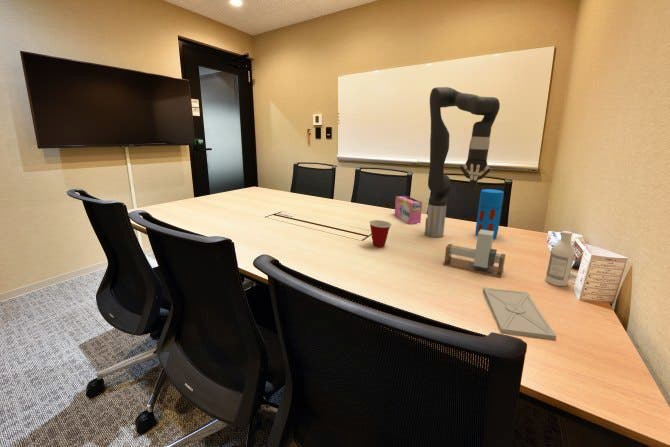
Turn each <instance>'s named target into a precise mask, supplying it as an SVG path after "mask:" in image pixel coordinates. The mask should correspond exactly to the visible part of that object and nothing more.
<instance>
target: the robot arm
mask: <svg viewBox="0 0 670 447" xmlns="http://www.w3.org/2000/svg"><path fill="white" fill-rule="evenodd" d="M499 100H500V99H498V98H497V97H493V96H480V95H477V94H473V93H464V92H461V91H459V90H456V89H455V88H453V87H449V86H448V87H447V86H446V87H445V86H444V87H443V86H442V87H434V88H432V89H431V90H430V94H429V111H430V140H429V172H428V178H427V187H428V189H429V191H430V192H432V193H431V196H430V197H429V198H428V203H427V204H428V207H427V217H426V218H425V225H424V227H425V228H424V236H428V237H430V238H441V237H444V234H445V232H444V231H445V222H446V213H447V205H448V204H447V203H448V200H449V198H450V192H451V191H450V190H451V179H450V177H449V176H448V175H447V174H445V170H444V169H445V162H446V160H447V156H448V153H449V150H450V132H449V130H448V128H447V126H446V124H445V123H444V120H443V119H442V118H443V116H442V114H441V113H442V110H441V108H449V107H456V108H458V110H461V111H464V112H468V113H470V114H472V115H476V116H483V117H482V120H480V121H476V122H474V124H473V126H472V131H471V137H470V141H469V146H468V153H467V154H468V155H467V160H466V162H465V163H464V164H463V165H460V167H459V168H460V170H461V171H462V173H463V175H464V177H465V178H466V179H468V180H469V184H468V187H469V189H472V190H475V189H476V188H477V186H478V181H480V180H482V179H484V178H485V177H486V176H487V175H488V174H489V173H490V172H491V171H492V170H493V168H491V167H490V166H489V165H488V155H489V149H490V142H491V140H490V139H491V133H492V127H493V125H494V123H495V121H496V118H497V116H498V114H499V111H500V106H501V105H500V104H501V103H500V101H499ZM467 169H468V170H467ZM483 170H484V172H483V173H481V172H482V171H483ZM468 171H469V172H468ZM480 173H481V175H480Z"/></svg>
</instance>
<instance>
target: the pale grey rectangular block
mask: <svg viewBox="0 0 670 447" xmlns="http://www.w3.org/2000/svg"><path fill="white" fill-rule="evenodd" d="M493 236H494V231H488V230H482V229H481V230H480V231H479V233H478V237H476V245H475V250H476V251H475V258H474V260H473V262H474V266H479V267H483V268H487V267H488V258H489V253H490V251H491V249H493V243H494V242H493V241H494V239H493Z"/></svg>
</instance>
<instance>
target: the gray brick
mask: <svg viewBox="0 0 670 447" xmlns="http://www.w3.org/2000/svg"><path fill="white" fill-rule="evenodd" d="M497 251H498V250H497V249H494V248H492V249H491V251H490V253H489V258H488V266H495V265H494V264H495V263H494V258H495V254H496V253H497Z"/></svg>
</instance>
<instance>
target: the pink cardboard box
mask: <svg viewBox="0 0 670 447" xmlns="http://www.w3.org/2000/svg"><path fill="white" fill-rule="evenodd" d="M394 201H395V204H394V216H395V217H397V218H398V219H400V220H401V219H402V221H403V222H404V223H406V224H408V225H417V223H420V224H421V220H422V219H421V217H422V208H423V202H421V201H419V200H418V199H415V198H412V197H410V196H408V195H405V194H404V195H403V196H397V195H395V200H394Z"/></svg>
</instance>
